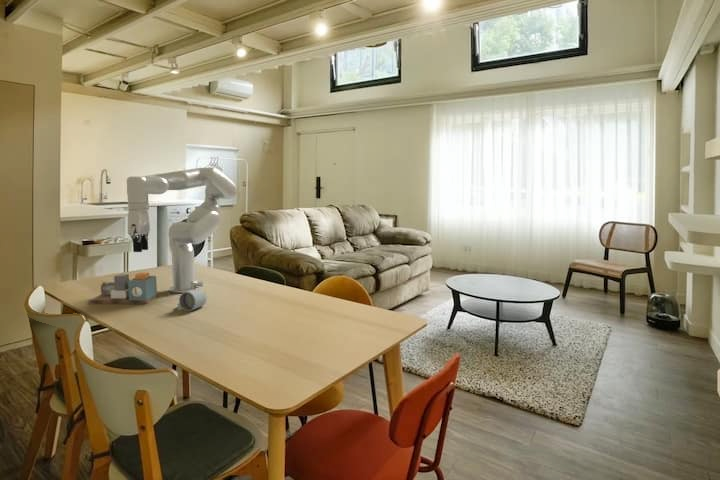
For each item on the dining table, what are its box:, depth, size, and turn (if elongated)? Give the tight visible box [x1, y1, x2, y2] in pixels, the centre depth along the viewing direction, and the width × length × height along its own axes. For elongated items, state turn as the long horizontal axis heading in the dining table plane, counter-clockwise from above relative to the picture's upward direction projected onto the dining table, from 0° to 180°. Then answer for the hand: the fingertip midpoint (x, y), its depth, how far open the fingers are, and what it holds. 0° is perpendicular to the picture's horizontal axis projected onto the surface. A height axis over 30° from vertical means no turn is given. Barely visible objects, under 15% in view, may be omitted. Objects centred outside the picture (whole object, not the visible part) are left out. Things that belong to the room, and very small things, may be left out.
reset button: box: [134, 272, 150, 280], centre depth 178 cm, size 4×4×3 cm
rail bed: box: [88, 281, 158, 305], centre depth 179 cm, size 23×10×7 cm, turn 93°
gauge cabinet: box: [128, 275, 158, 300], centre depth 179 cm, size 7×11×8 cm, turn 3°
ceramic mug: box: [177, 289, 208, 312], centre depth 170 cm, size 11×8×8 cm
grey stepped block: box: [111, 273, 130, 299], centre depth 178 cm, size 6×7×9 cm
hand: (140, 250), depth 177 cm, fingers open, 4 cm apart
